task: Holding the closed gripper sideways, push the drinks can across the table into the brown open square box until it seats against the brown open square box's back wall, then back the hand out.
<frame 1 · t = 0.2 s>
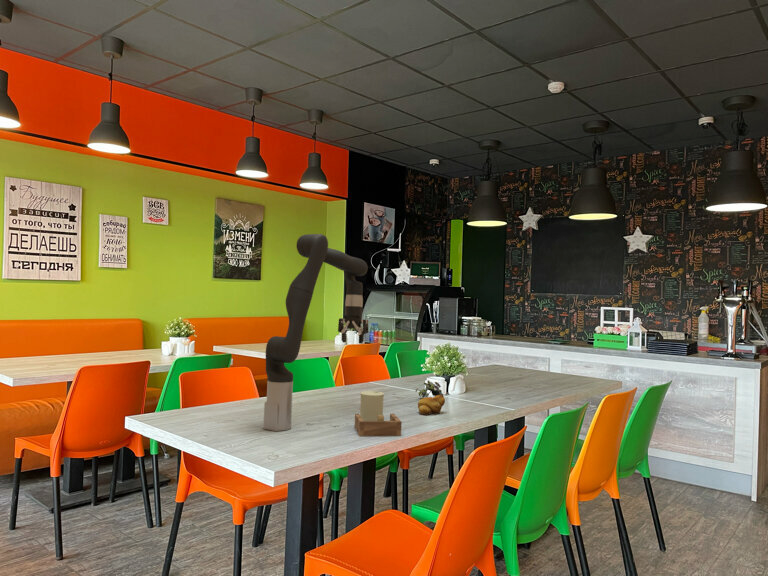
hand: (352, 342, 240), 29 cm above the table, tool pointing down, fingers open, 8 cm apart
bread roll: (428, 413, 239), on the table
can: (371, 423, 216), on the table
brown open square box: (376, 431, 203), on the table
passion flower: (429, 400, 268), on the table
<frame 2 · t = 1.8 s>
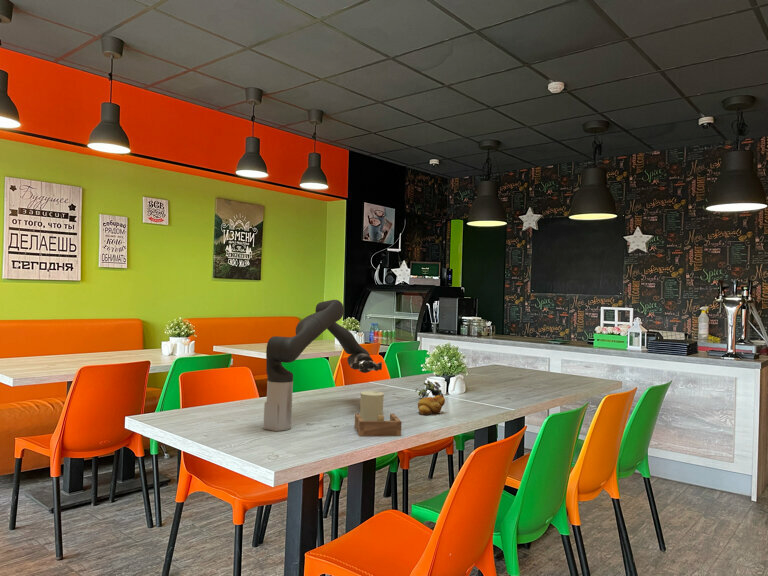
hand: (369, 368, 225), 20 cm above the table, tool horizontal, fingers open, 5 cm apart
nothing on the table moved.
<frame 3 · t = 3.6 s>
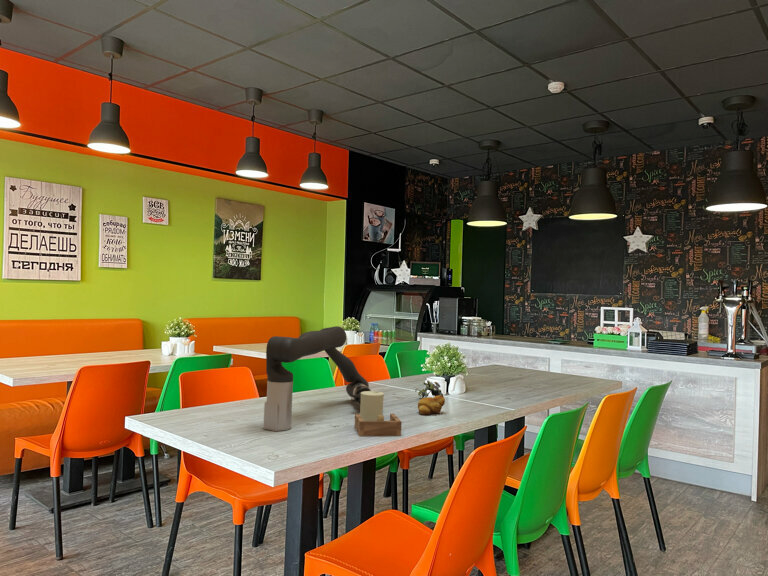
hand: (368, 402, 225), 6 cm above the table, tool horizontal, fingers closed
nothing on the table moved.
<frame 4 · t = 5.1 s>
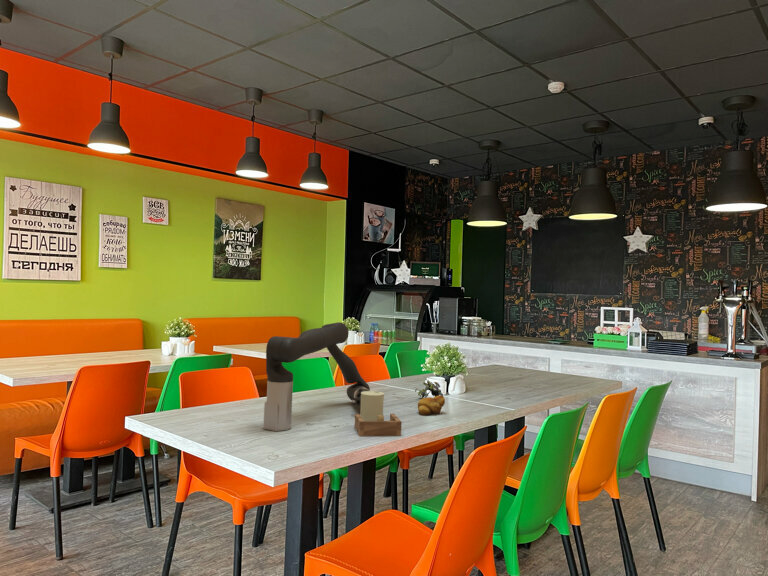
hand: (370, 405, 220), 6 cm above the table, tool horizontal, fingers closed
can: (371, 423, 216), on the table, touching gripper
everything else where it was.
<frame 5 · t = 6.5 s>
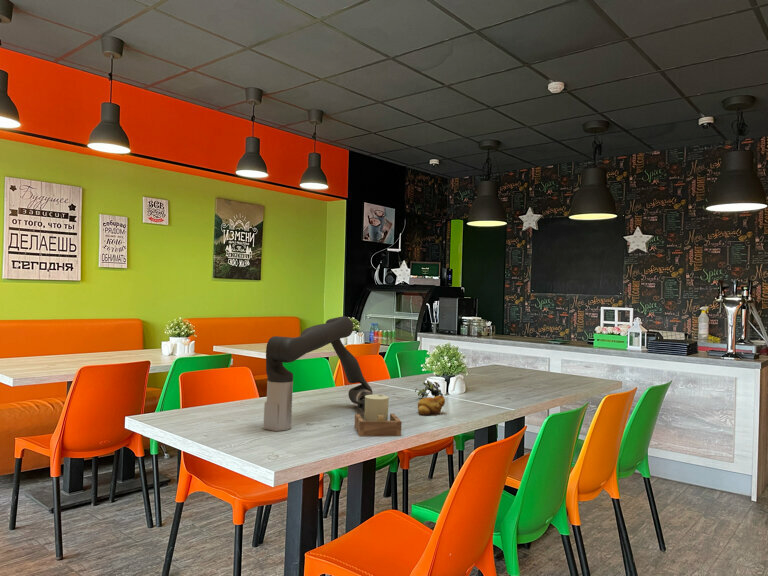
hand: (373, 408, 212), 6 cm above the table, tool horizontal, fingers closed
can: (375, 427, 208), on the table, touching gripper
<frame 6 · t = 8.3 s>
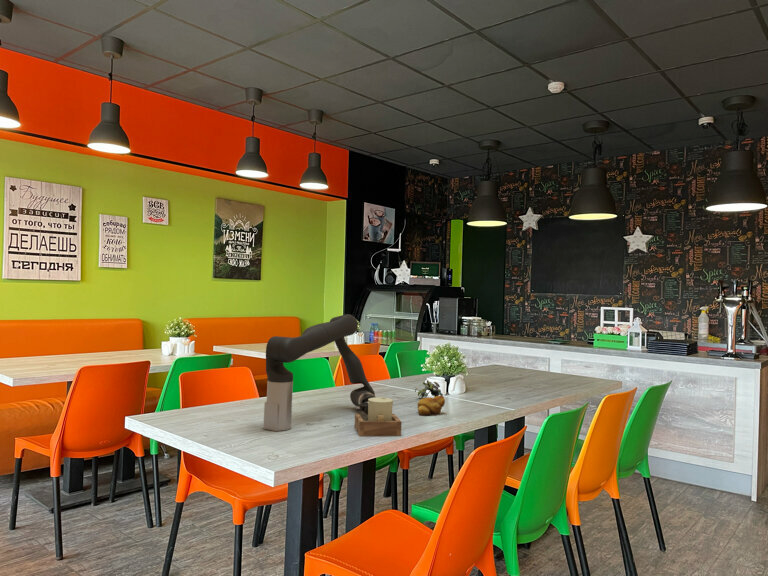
hand: (375, 411, 207), 6 cm above the table, tool horizontal, fingers closed
can: (379, 431, 203), on the table, touching gripper
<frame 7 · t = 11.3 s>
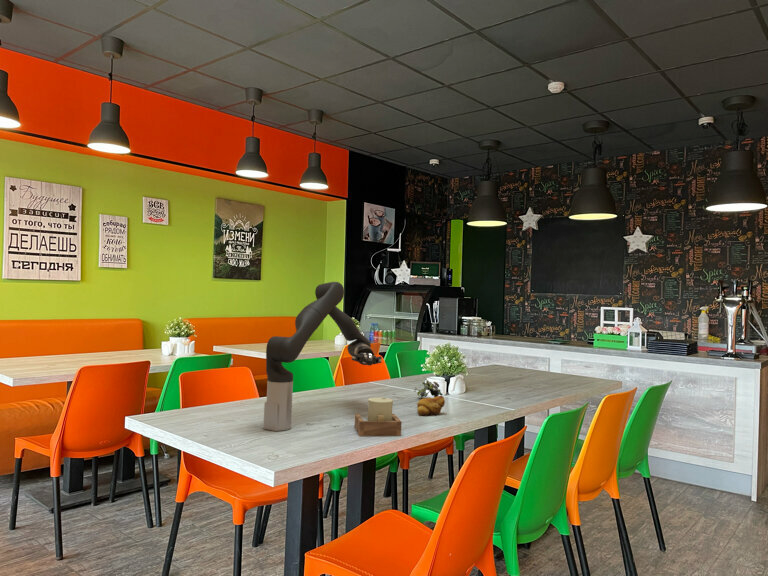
hand: (369, 362, 218), 23 cm above the table, tool horizontal, fingers closed
can: (379, 431, 203), on the table
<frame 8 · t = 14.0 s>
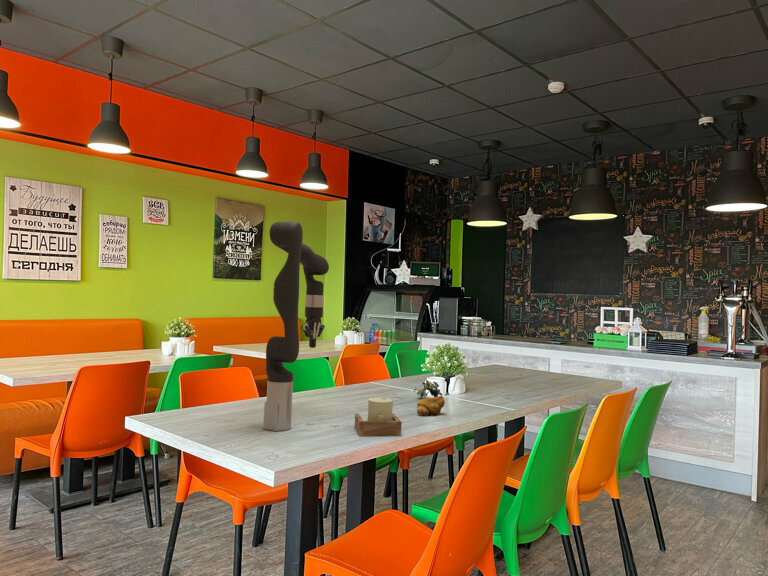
hand: (312, 347, 230), 27 cm above the table, tool pointing down, fingers closed
at the end: can 0.9 cm from the brown open square box (horizontally); can tilted 0° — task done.
